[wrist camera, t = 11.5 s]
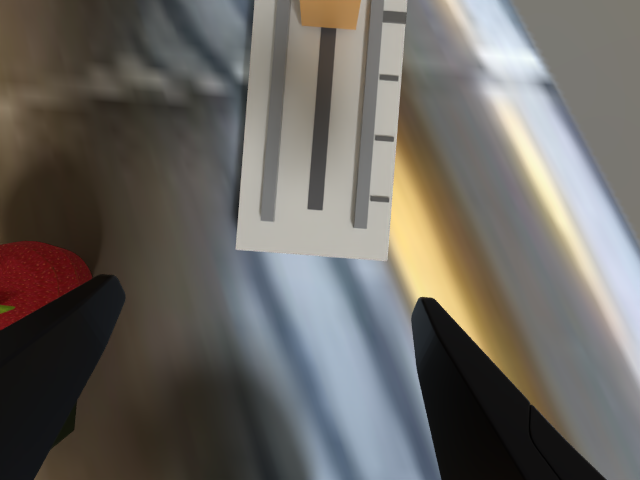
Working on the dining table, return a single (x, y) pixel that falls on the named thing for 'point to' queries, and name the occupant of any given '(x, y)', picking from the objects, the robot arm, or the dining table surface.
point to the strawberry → (35, 277)
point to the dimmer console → (321, 132)
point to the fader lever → (330, 13)
